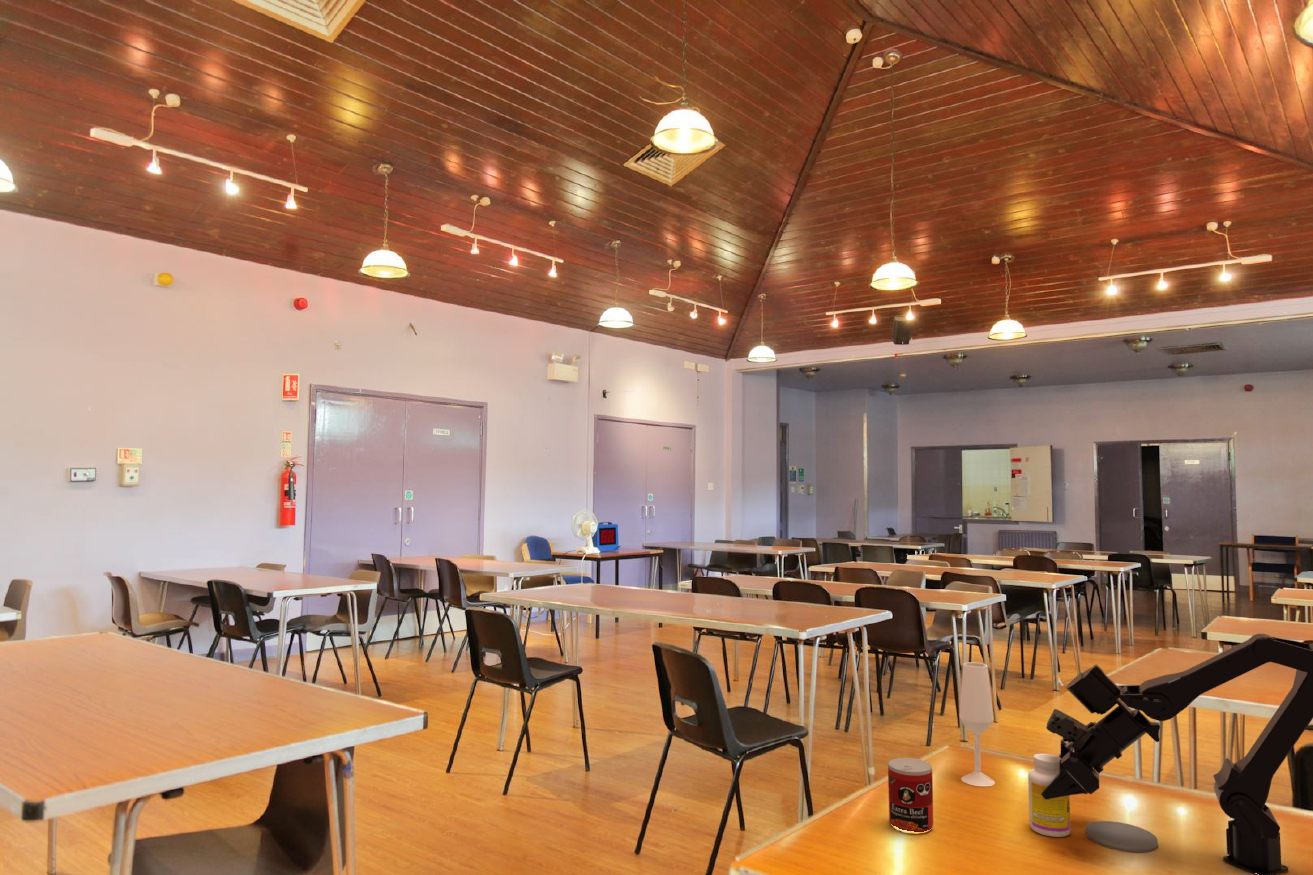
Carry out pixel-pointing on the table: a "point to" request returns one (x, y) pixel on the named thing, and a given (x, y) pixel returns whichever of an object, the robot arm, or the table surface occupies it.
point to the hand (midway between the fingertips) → (1044, 788)
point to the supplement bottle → (1047, 813)
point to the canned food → (910, 794)
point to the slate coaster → (1121, 836)
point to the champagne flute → (976, 714)
